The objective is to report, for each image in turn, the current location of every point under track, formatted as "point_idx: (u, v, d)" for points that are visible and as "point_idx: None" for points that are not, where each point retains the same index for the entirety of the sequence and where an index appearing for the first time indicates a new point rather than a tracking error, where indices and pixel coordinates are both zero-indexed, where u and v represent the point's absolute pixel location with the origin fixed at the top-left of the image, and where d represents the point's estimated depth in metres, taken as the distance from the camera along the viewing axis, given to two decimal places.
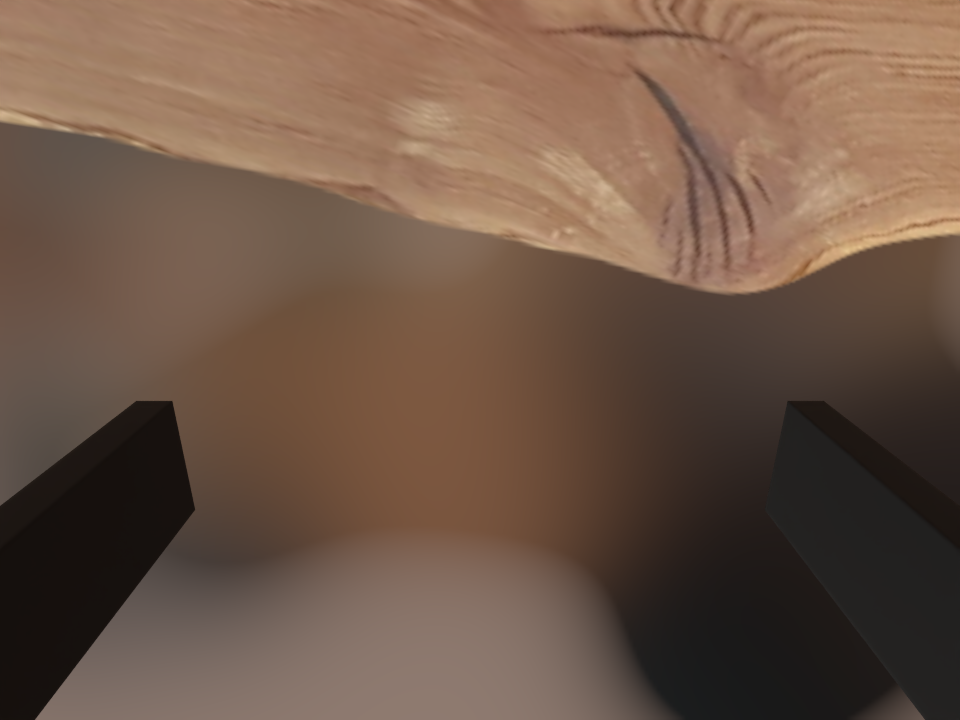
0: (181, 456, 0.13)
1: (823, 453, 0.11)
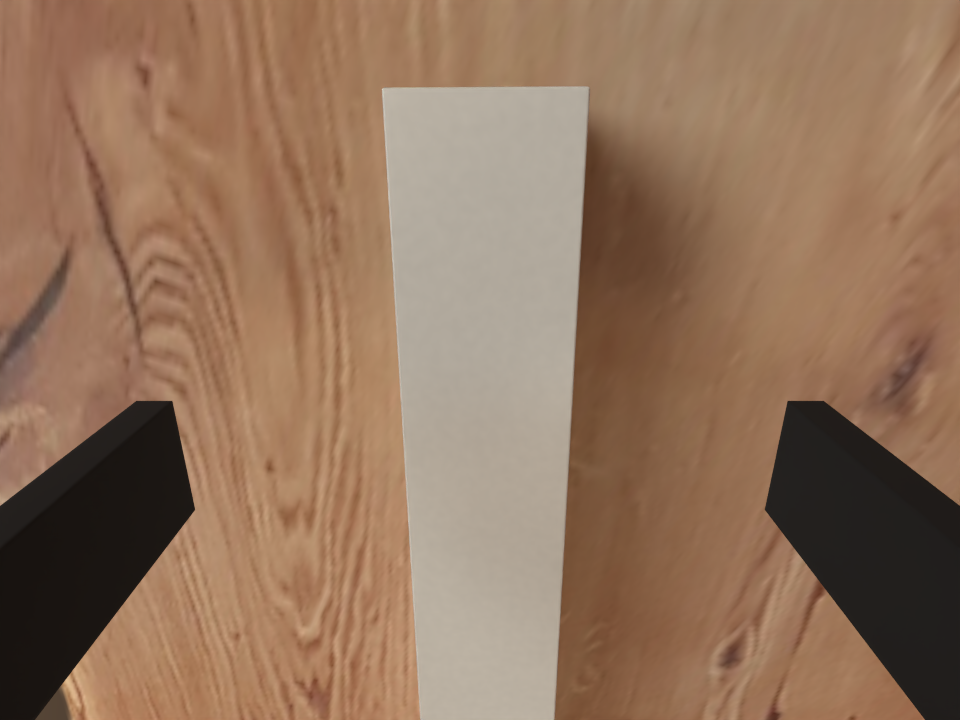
0: (181, 456, 0.13)
1: (823, 453, 0.11)
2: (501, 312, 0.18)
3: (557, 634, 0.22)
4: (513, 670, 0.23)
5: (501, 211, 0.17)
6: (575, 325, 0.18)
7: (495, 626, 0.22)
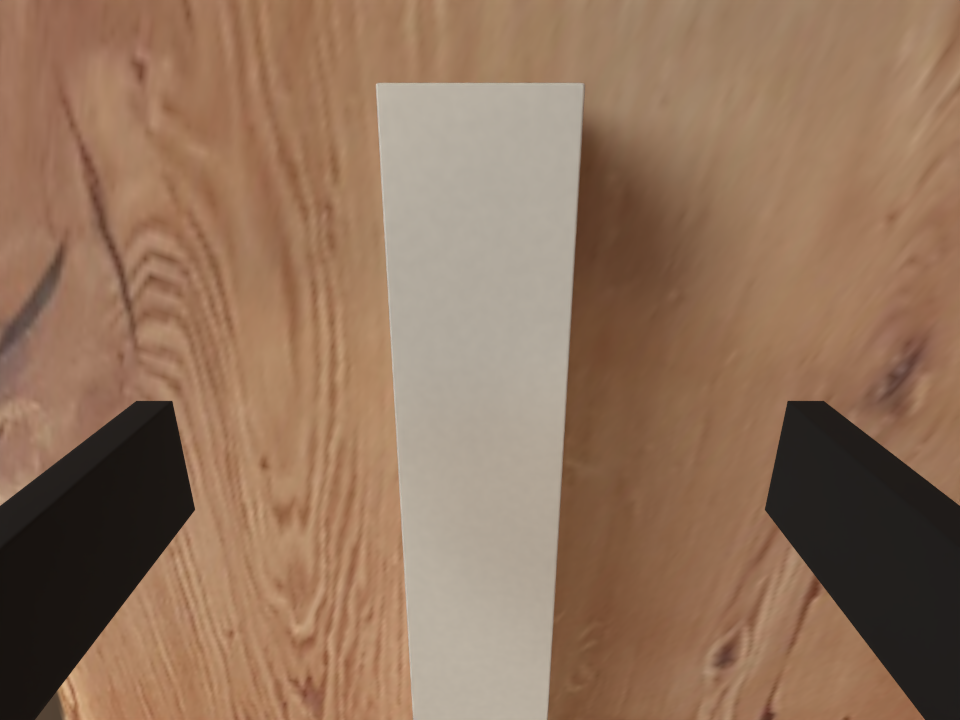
0: (181, 456, 0.13)
1: (823, 453, 0.11)
2: (495, 309, 0.18)
3: (550, 633, 0.22)
4: (506, 669, 0.23)
5: (495, 208, 0.17)
6: (569, 323, 0.18)
7: (488, 625, 0.22)
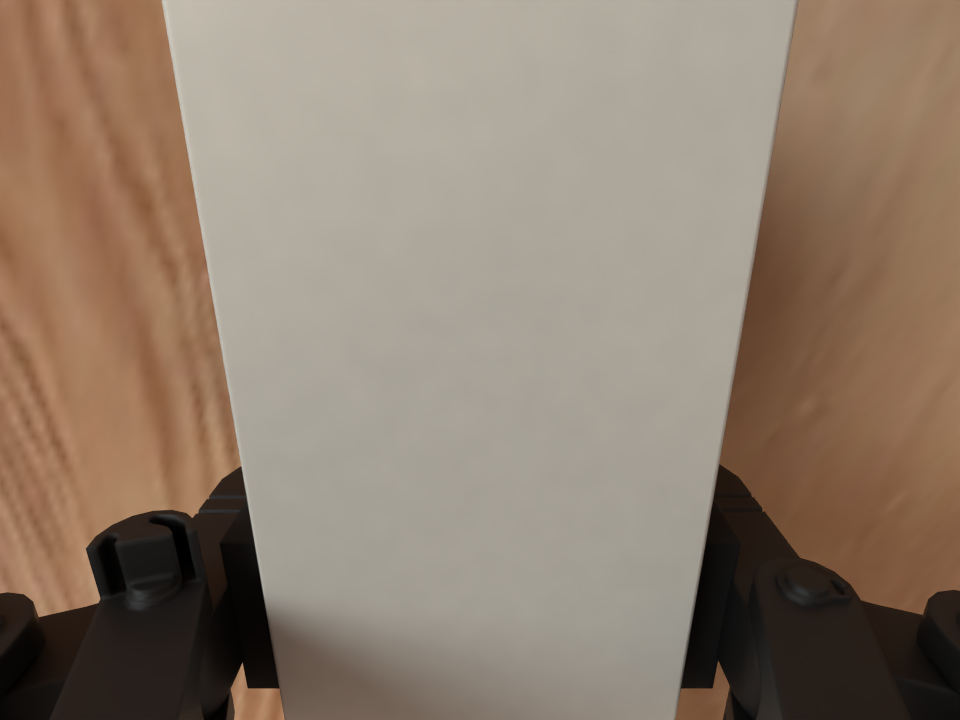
0: None
1: None
2: (516, 561, 0.07)
3: None
4: None
5: (520, 333, 0.06)
6: (696, 589, 0.07)
7: None
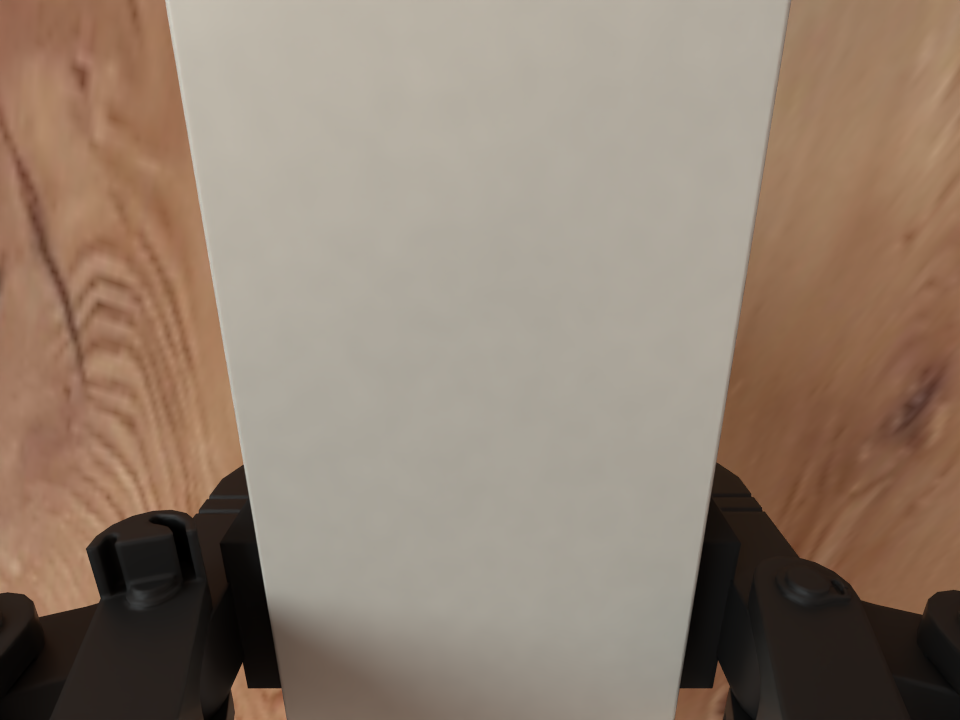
0: None
1: None
2: (516, 558, 0.07)
3: None
4: None
5: (518, 331, 0.06)
6: (694, 586, 0.07)
7: None
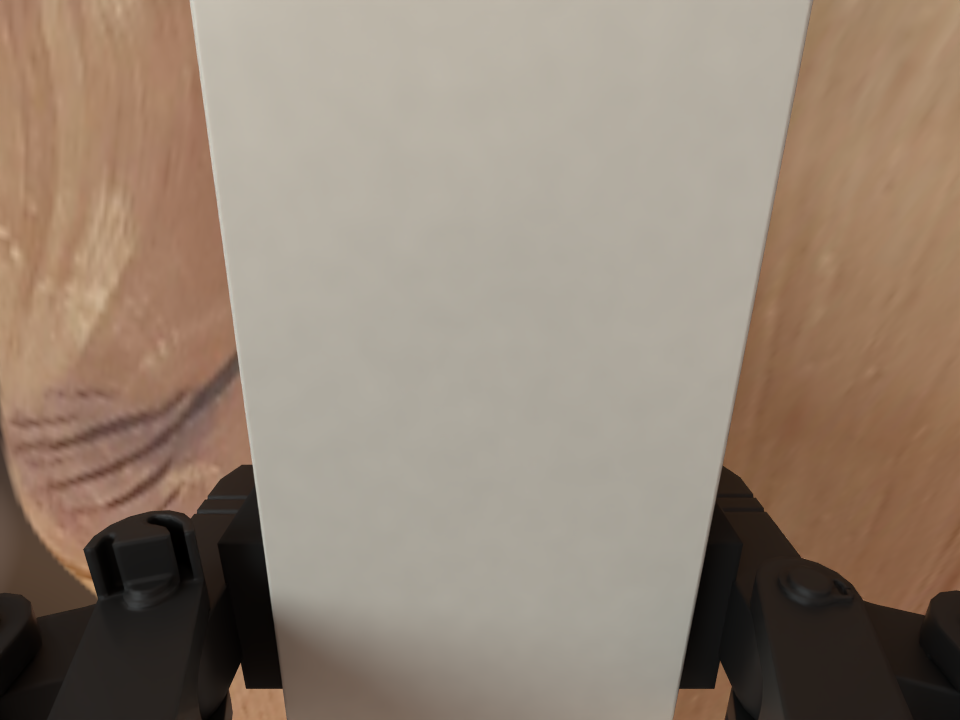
0: None
1: None
2: (520, 556, 0.07)
3: None
4: None
5: (531, 329, 0.06)
6: (697, 587, 0.07)
7: None
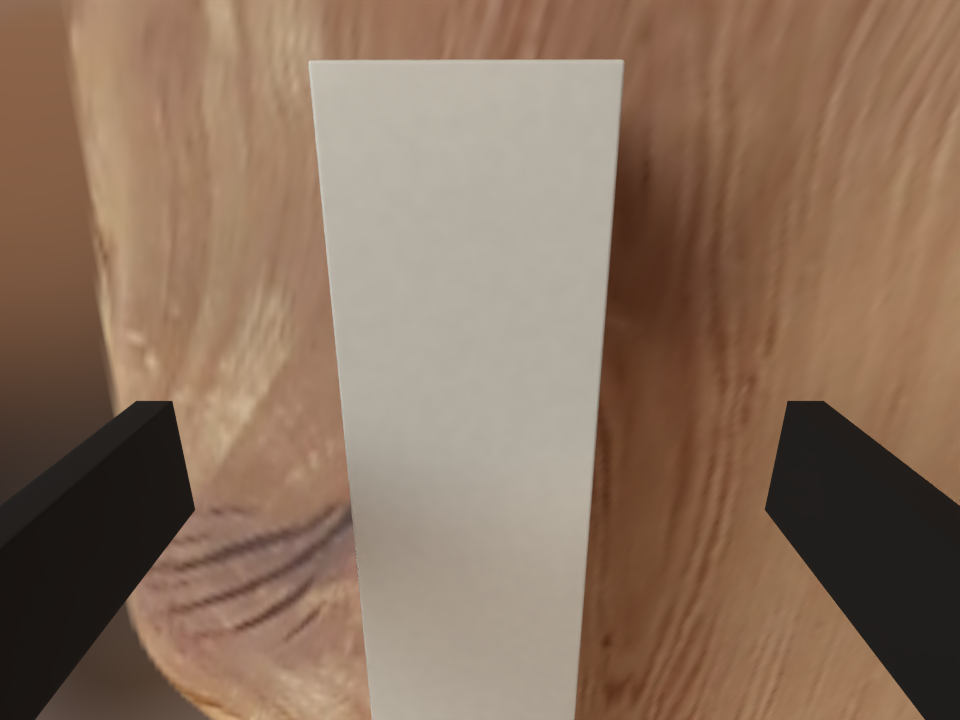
0: (181, 456, 0.13)
1: (823, 452, 0.11)
2: (491, 387, 0.12)
3: None
4: None
5: (490, 246, 0.11)
6: (597, 404, 0.13)
7: None
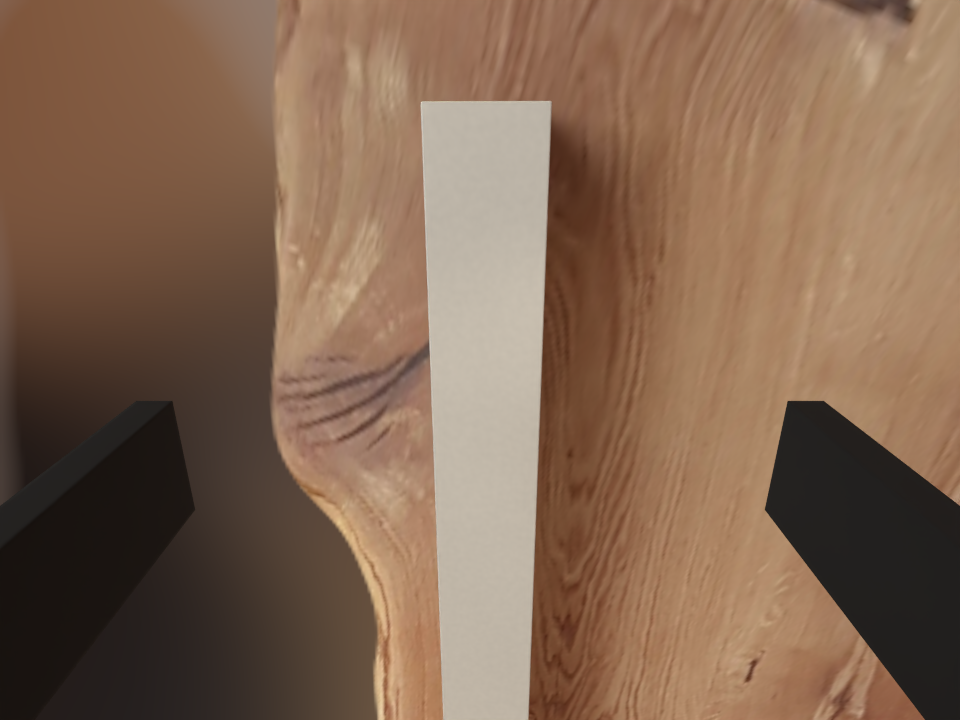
0: (181, 456, 0.13)
1: (823, 452, 0.11)
2: (495, 248, 0.27)
3: (535, 486, 0.32)
4: (504, 515, 0.32)
5: (495, 181, 0.26)
6: (545, 257, 0.27)
7: (491, 480, 0.31)
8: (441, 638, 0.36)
